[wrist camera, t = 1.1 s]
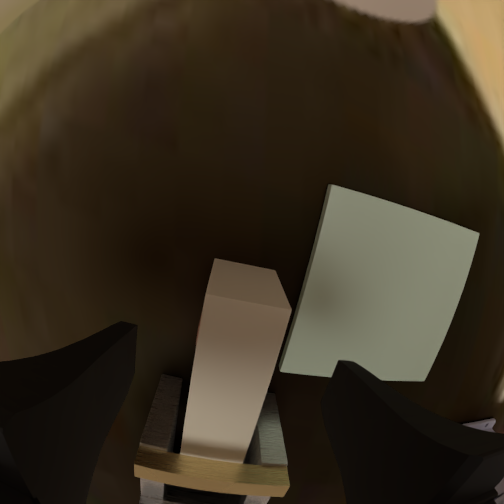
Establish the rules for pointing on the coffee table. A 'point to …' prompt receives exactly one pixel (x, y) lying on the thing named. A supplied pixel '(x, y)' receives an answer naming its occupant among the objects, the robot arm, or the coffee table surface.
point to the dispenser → (206, 470)
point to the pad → (377, 289)
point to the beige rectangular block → (233, 359)
